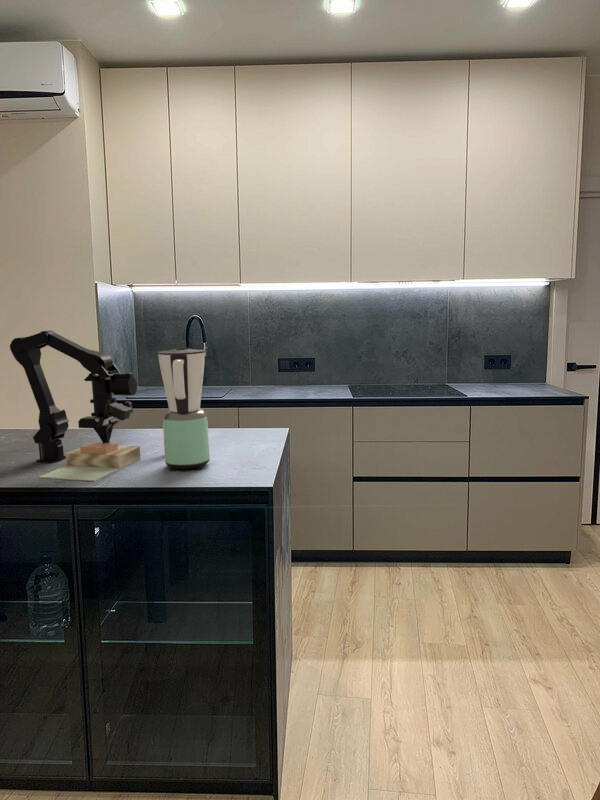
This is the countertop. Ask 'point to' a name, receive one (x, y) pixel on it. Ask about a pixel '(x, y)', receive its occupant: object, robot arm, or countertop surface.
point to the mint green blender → (184, 409)
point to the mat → (79, 473)
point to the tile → (98, 448)
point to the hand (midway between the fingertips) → (106, 445)
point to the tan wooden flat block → (104, 458)
